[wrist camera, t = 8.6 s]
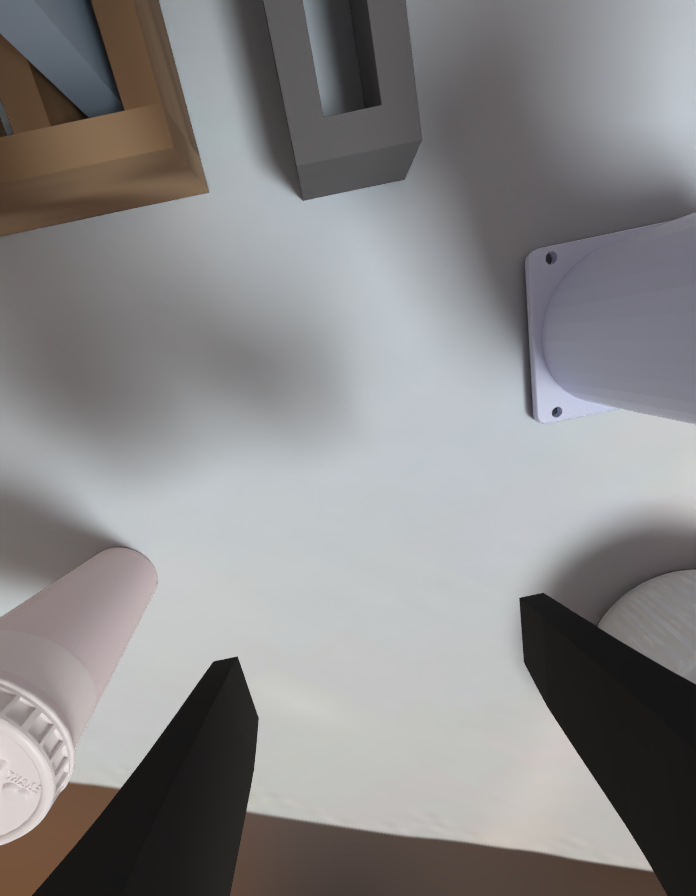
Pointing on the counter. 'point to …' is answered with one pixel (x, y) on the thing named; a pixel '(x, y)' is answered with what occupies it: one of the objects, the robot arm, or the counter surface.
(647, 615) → the ramekin
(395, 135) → the stand
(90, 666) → the smoothie
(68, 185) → the rack
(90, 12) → the blue grey tile
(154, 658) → the counter surface
